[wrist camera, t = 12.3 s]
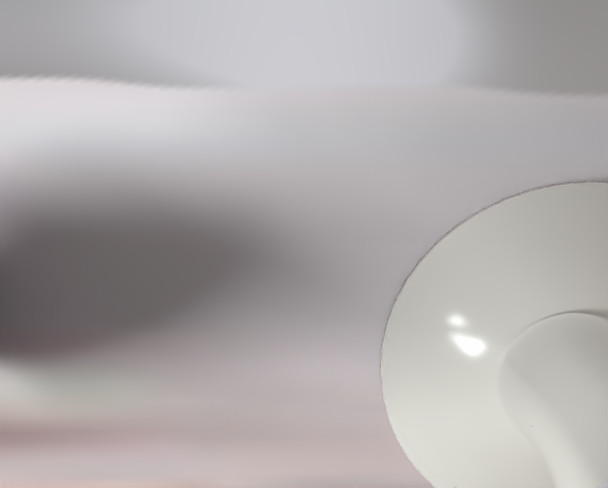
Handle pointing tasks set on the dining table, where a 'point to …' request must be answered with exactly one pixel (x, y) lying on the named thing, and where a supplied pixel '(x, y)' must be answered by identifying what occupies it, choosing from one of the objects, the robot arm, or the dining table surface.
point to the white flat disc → (487, 329)
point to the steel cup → (561, 395)
